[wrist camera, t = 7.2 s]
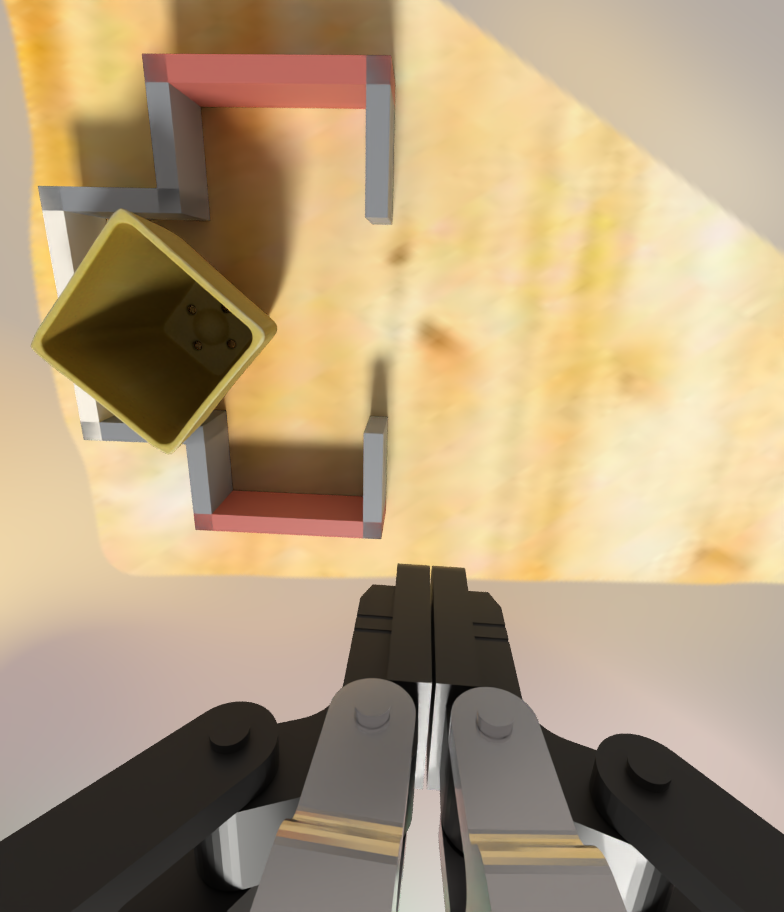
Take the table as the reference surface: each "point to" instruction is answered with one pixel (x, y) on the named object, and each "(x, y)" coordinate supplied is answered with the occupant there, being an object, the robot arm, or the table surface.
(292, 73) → the box
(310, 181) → the table surface
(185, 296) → the flower pot
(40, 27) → the table surface
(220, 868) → the robot arm
